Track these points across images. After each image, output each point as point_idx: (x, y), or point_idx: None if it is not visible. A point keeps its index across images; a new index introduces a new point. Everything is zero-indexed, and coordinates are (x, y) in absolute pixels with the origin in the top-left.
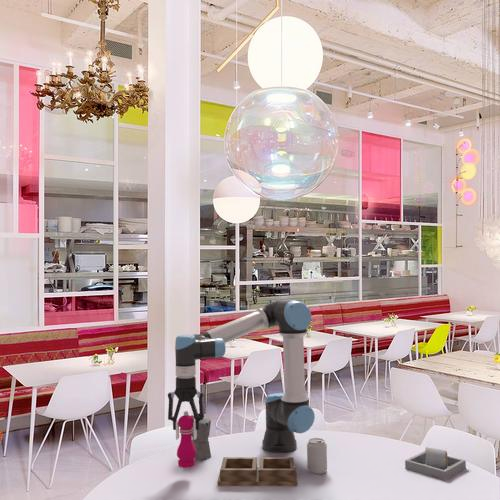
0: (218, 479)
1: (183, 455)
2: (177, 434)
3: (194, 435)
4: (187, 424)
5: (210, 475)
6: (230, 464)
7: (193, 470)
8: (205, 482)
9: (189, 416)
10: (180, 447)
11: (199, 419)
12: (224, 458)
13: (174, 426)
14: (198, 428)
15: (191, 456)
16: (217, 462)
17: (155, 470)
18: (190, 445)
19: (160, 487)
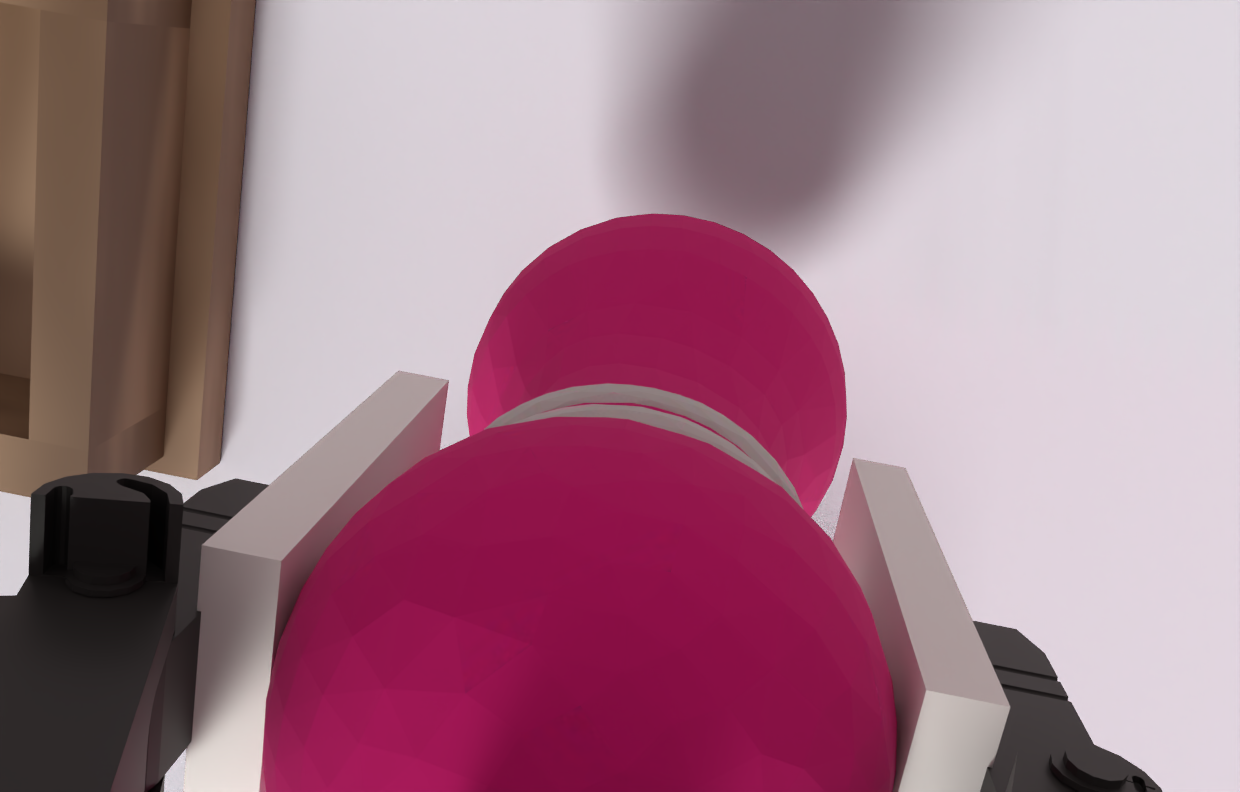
0: (221, 39)
1: (719, 232)
2: (878, 505)
3: (396, 401)
4: (529, 438)
5: (357, 351)
6: (29, 404)
7: None
8: (423, 117)
9: (383, 788)
10: (781, 348)
11: (2, 617)
12: (67, 456)
13: (1012, 677)
14: (212, 495)
15: (563, 239)
16: None
17: (1100, 662)
18: (551, 334)
19: (1066, 41)
